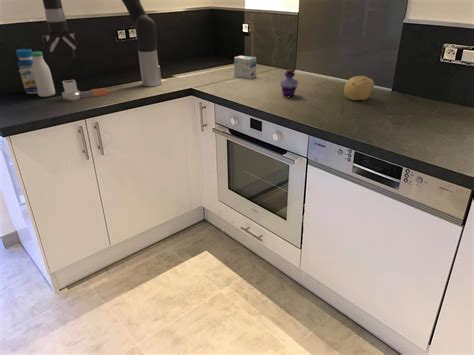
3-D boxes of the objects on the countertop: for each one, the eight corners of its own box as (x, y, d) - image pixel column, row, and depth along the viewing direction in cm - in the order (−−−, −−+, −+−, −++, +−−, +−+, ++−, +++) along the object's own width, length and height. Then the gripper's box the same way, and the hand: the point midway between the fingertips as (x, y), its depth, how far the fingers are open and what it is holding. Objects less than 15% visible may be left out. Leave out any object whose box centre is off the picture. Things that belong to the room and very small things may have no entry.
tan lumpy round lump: (356, 104, 168) (359, 80, 163) (338, 97, 177) (341, 74, 172) (375, 100, 173) (379, 77, 167) (356, 94, 182) (360, 71, 177)
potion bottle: (287, 91, 186) (288, 67, 180) (301, 95, 180) (303, 70, 175) (275, 95, 181) (276, 70, 175) (289, 99, 175) (291, 73, 169)
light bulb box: (256, 76, 213) (256, 56, 208) (250, 79, 208) (250, 59, 203) (240, 74, 218) (240, 55, 213) (234, 76, 213) (233, 57, 208)
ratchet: (105, 91, 188) (103, 78, 185) (109, 95, 182) (106, 82, 179) (62, 97, 180) (59, 83, 177) (64, 102, 174) (61, 88, 171)
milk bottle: (59, 93, 187) (49, 51, 177) (47, 97, 180) (36, 54, 171) (46, 91, 189) (36, 50, 179) (34, 96, 183) (23, 53, 173)
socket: (76, 90, 180) (74, 79, 178) (78, 92, 176) (75, 82, 174) (64, 91, 178) (62, 81, 176) (66, 94, 174) (63, 83, 172)
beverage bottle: (47, 90, 191) (37, 49, 182) (33, 94, 185) (22, 52, 175) (35, 88, 194) (25, 47, 185) (21, 92, 188) (9, 50, 178)
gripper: (72, 18, 168) (80, 55, 176) (37, 20, 162) (47, 59, 170) (75, 19, 163) (83, 58, 170) (38, 22, 157) (48, 62, 165)
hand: (65, 58), depth 170 cm, fingers open, 8 cm apart
